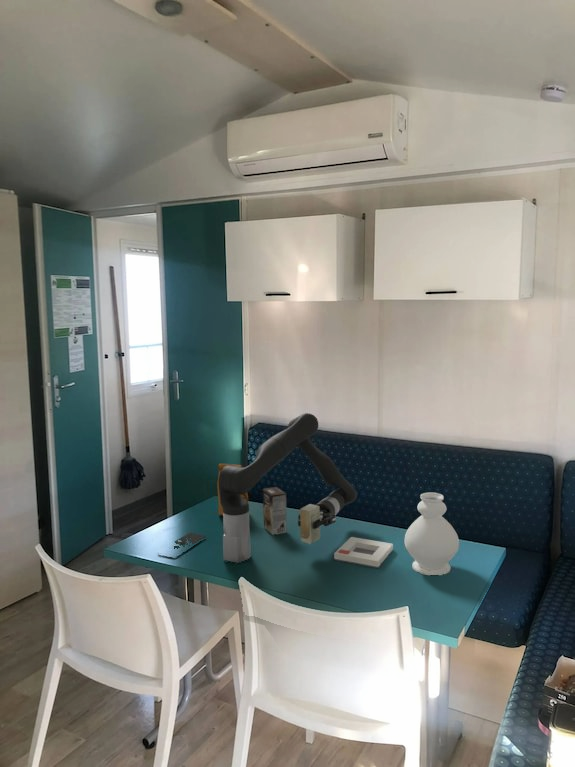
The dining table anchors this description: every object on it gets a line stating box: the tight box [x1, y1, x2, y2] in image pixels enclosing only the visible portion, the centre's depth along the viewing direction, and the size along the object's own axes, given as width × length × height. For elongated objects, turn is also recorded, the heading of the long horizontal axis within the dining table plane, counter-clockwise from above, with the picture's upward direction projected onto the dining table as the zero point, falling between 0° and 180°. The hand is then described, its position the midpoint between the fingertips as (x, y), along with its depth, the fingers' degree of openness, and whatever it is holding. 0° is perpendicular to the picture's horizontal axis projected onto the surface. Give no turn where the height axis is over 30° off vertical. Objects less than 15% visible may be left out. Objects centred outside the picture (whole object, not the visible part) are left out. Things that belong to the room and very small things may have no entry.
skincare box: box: [299, 503, 321, 545], centre depth 225 cm, size 6×4×12 cm
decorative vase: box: [404, 491, 460, 576], centre depth 213 cm, size 18×18×25 cm
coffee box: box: [262, 486, 288, 536], centre depth 250 cm, size 9×6×16 cm
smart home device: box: [174, 532, 207, 549], centre depth 238 cm, size 8×2×20 cm
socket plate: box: [333, 536, 394, 569], centre depth 226 cm, size 16×16×3 cm
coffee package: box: [216, 463, 249, 516], centre depth 268 cm, size 10×12×22 cm
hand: (306, 525), depth 223 cm, fingers closed on skincare box, 5 cm apart
